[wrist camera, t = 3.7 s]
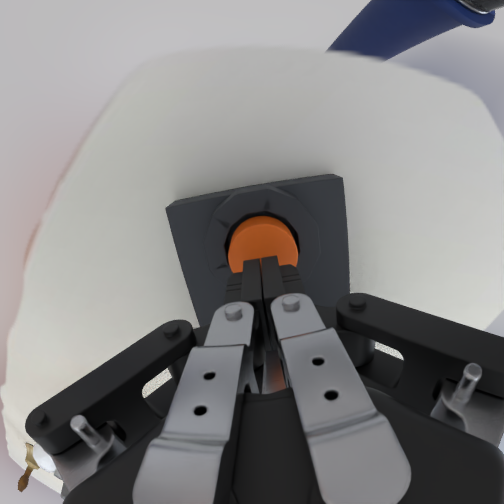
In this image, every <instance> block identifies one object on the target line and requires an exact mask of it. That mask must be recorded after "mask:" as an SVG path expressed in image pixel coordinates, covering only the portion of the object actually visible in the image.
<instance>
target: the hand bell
mask: <svg viewBox="0 0 504 504" xmlns="http://www.w3.org/2000/svg"><path fill="white" fill-rule="evenodd" d="M26 448H27V456H26V459H25V461H26V462H27V464H28V467H27V469H26V471H25V474H24V475H23V476H22V477H21V478H20V480H19V482H18V490H19V491H21V492H22V491H23V490H24V489H25V488H26V487H27V485H28V480H29V479H28V478H29V476H30V474H31V472H32V471H33V469H39V468H40V467H39V466H38V464H37V463H36V461H35V459H34V457H33V446H32V445H30V444H28V443H26Z"/></svg>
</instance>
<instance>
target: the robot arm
mask: <svg viewBox="0 0 504 504" xmlns="http://www.w3.org/2000/svg"><path fill="white" fill-rule="evenodd" d="M455 1H456V2H457V3H458V4H460V5H461V6H462V7H464V8H465V9H467V10H469V11H470V12H472V13H475V14H478V15H484V14H487V13H489V12H491V11H494V10H495V9H499V8H502V7H504V0H455ZM261 267H262V268H261ZM270 334H271V338H270ZM271 340H272V345H273V350H278V354H279V360H280V366H281V370H282V375H283V379H284V383H285V389H282V390H279V391H276V392H273V393H270V394H265V380H266V364H265V359H266V353H265V352H266V351H272V349H271ZM375 341H376V342H379V343H381V344H384V345H386V346H389V347H391V348H394V349H396V350H398V351H399V352H400V353H401V354H402V356H403V359H404V360H401V359H399V358H396V357H394V356H392V355H389V354H387V353H384V352H382V351H380V350H377V349H375ZM166 368H168V370H169V372H170V374H171V376H172V378H171V379H169V380H168V381H167V382H166V383H164V384H163V385H162V386H160V387H159V388H158V389H156V390H155V391H154V392H153V393H151V394H150V395H149V396H147V397H146V398H143V396H142V389H143V387H144V385H145V384H146V383H147V382H149V381H150V380H152V379H153V378H154V377H156V376H157V375H158V374H160V373H161V372H162V371H164V370H165V369H166ZM25 429H26V432H27V433H28V434H29V436H30V437H31V438H32V439H33V440H34V441H36V442H37V443H38V444H39V445H40V446H41V447H42V448H43V450H44V451H45V452H46V453H47V454H48V455H49V456H50V457H51V458H52V460H53V462H54V464H55V466H56V468H57V470H58V472H59V474H60V476H61V478H62V480H63V482H64V484H65V485H66V487H67V489H68V491H69V493H68V495H67V496H66V498H65V500H64V502H63V504H504V454H503V453H502V451H501V450H500V449H499V448H498V446H499V444H500V441H501V438H502V435H503V433H504V337H500V336H497V335H494V334H491V333H488V332H485V331H482V330H478V329H475V328H472V327H469V326H466V325H463V324H459V323H456V322H453V321H450V320H447V319H444V318H441V317H437V316H434V315H431V314H428V313H425V312H422V311H419V310H416V309H412V308H409V307H406V306H403V305H400V304H397V303H394V302H391V301H387V300H384V299H381V298H378V297H375V296H372V295H369V294H365V293H352V294H348V295H345V296H343V297H341V298H340V299H339V300H338V301H337V304H336V307H323V306H318V305H315V304H313V302H312V300H311V298H310V297H309V296H307V295H306V293H305V290H304V287H303V284H302V281H301V278H300V275H299V272H298V269H297V268H296V267H295V266H293V265H292V264H287V265H281V266H279V262H278V258H277V255H275V256H269V257H263V258H261V263H260V258H257V259H251V260H245V261H243V272H237V273H233V274H232V275H231V276H230V277H229V278H228V280H227V287H226V292H225V298H224V304H223V306H221V307H220V308H218V309H217V310H216V311H215V313H214V316H213V319H212V322H211V323H210V324H208V325H205V326H202V327H199V328H196V329H193V328H192V325H191V323H190V322H188V321H186V320H173V321H169V322H167V323H165V324H163V325H161V326H159V327H158V328H157V329H155V330H154V331H152V332H151V333H149V334H148V335H146V336H145V337H143V338H142V339H140V340H139V341H137V342H136V343H134V344H133V345H131V346H130V347H128V348H127V349H125V350H124V351H122V352H121V353H119V354H118V355H116V356H114V357H113V358H111V359H110V360H108V361H107V362H105V363H104V364H102V365H101V366H99V367H98V368H96V369H95V370H93V371H92V372H90V373H89V374H87V375H86V376H84V377H83V378H81V379H80V380H78V381H76V382H75V383H73V384H72V385H70V386H69V387H67V388H66V389H64V390H63V391H61V392H60V393H58V394H57V395H55V396H53V397H52V398H50V399H49V400H47V401H46V402H44V403H43V404H41V405H40V406H38V407H36V408H35V409H34V410H33V411H32V412H31V413H30V414H29V415H28V417H27V419H26V423H25Z"/></svg>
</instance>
